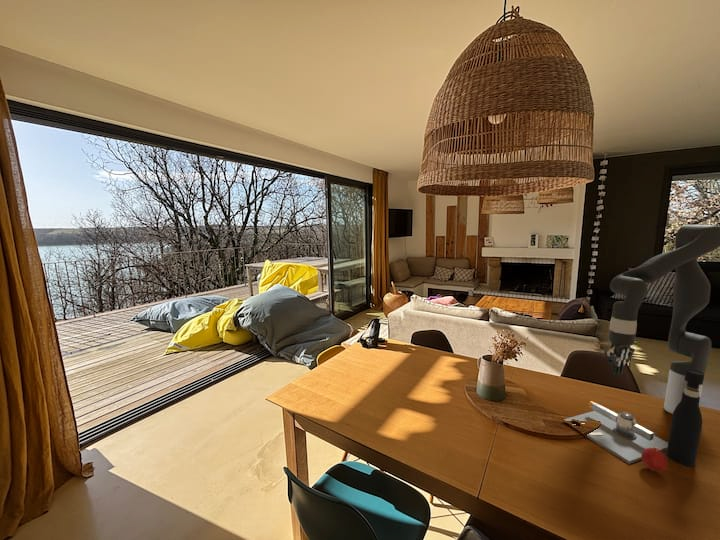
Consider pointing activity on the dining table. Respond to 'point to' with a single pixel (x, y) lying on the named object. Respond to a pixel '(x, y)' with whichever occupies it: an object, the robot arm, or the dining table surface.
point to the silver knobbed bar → (623, 422)
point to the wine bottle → (686, 422)
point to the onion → (654, 459)
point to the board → (618, 438)
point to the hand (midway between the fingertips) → (616, 373)
